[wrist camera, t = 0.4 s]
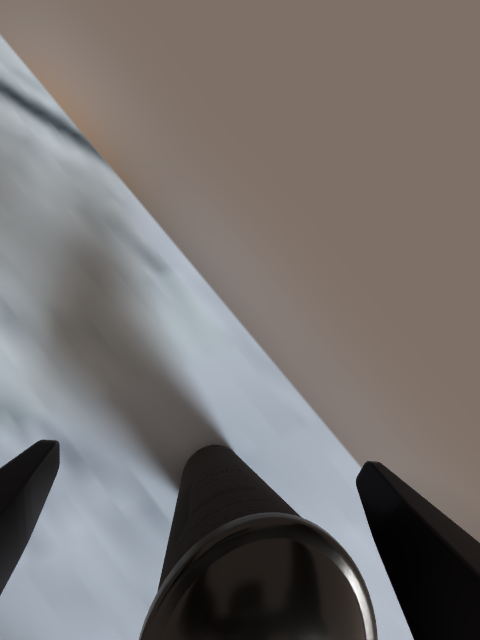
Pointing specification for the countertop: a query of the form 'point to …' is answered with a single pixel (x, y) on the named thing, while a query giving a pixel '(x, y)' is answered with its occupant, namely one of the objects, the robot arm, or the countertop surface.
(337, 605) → the drinking cup
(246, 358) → the countertop surface
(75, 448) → the countertop surface
